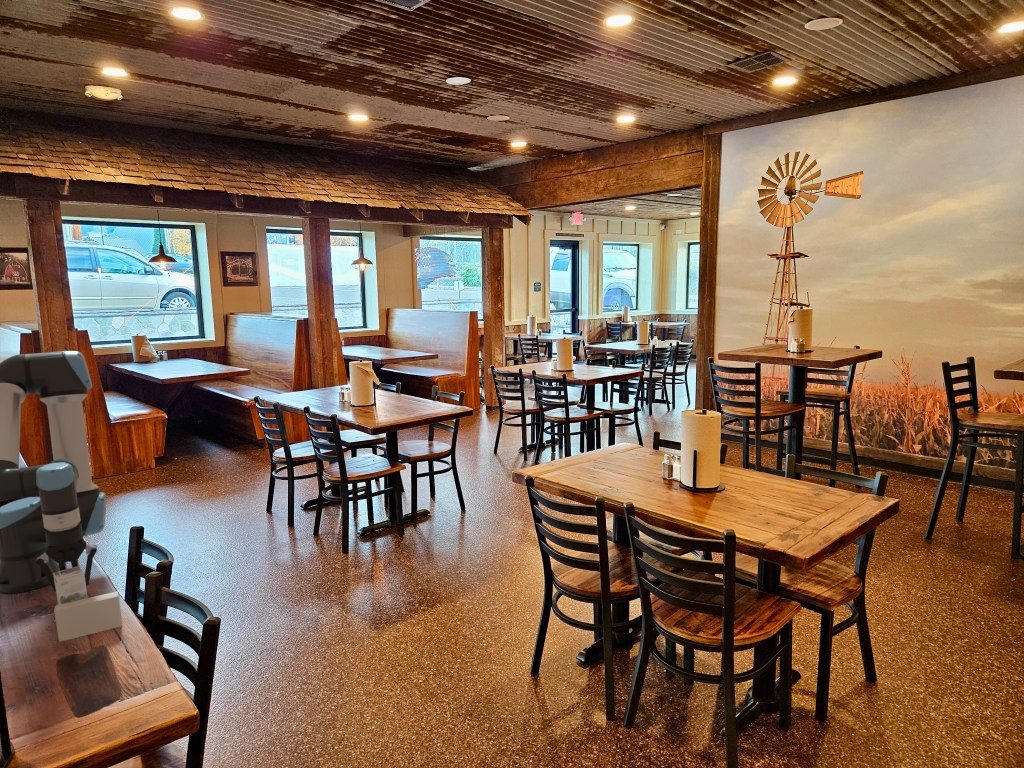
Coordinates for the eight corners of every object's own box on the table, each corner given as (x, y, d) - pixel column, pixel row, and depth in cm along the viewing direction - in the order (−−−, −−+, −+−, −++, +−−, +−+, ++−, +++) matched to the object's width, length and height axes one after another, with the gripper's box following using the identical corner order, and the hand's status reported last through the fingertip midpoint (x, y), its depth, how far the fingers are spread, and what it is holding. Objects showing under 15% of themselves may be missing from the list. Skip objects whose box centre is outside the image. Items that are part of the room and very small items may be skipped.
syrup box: (87, 617, 169) (79, 564, 167) (92, 626, 165) (84, 572, 162) (60, 626, 166) (52, 571, 163) (64, 635, 161) (56, 579, 159)
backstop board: (60, 635, 161) (55, 605, 160) (122, 620, 167) (118, 591, 166) (59, 641, 158) (54, 610, 157) (122, 626, 165) (117, 596, 163)
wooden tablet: (126, 696, 136) (67, 712, 130) (126, 706, 136) (67, 723, 130) (106, 641, 157) (54, 653, 150) (106, 650, 157) (55, 662, 151)
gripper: (28, 537, 158) (44, 627, 163) (93, 525, 164) (106, 612, 169) (32, 526, 164) (46, 613, 169) (94, 515, 171) (106, 600, 175)
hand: (76, 613), depth 169 cm, fingers closed
